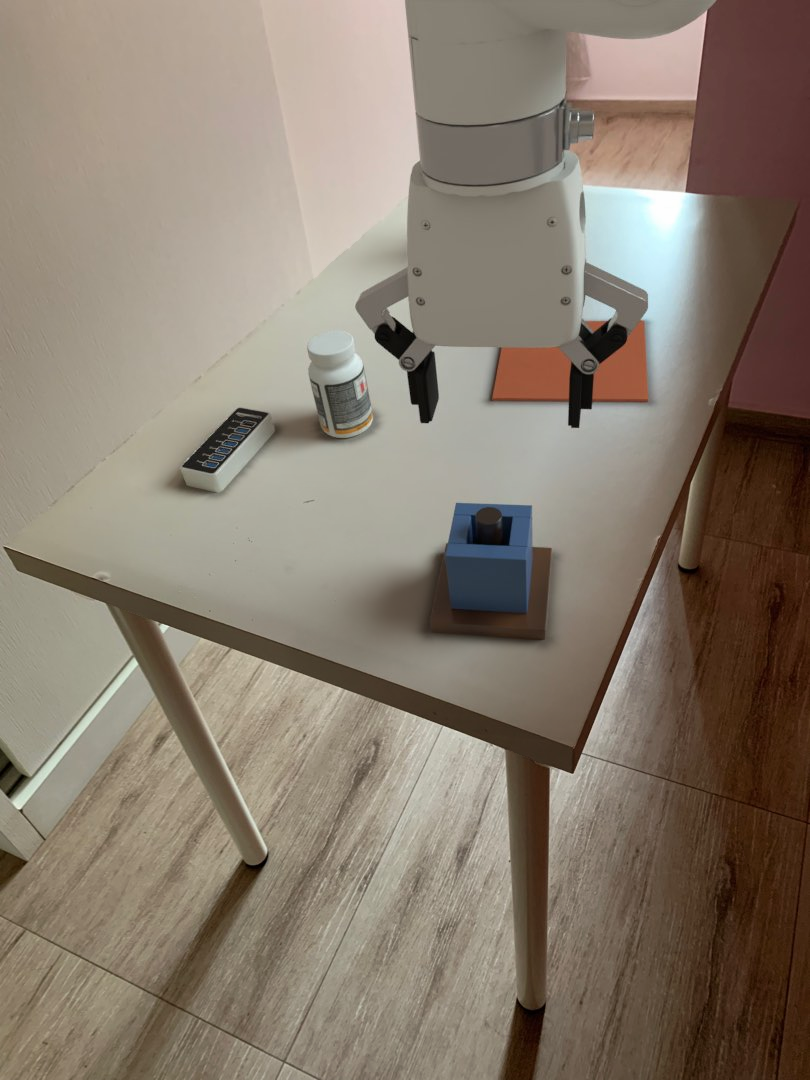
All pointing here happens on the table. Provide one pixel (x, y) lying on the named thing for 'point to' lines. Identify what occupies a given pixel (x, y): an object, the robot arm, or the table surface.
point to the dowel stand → (491, 621)
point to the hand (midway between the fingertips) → (501, 413)
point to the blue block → (490, 561)
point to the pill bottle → (339, 384)
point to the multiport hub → (227, 449)
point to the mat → (549, 372)
